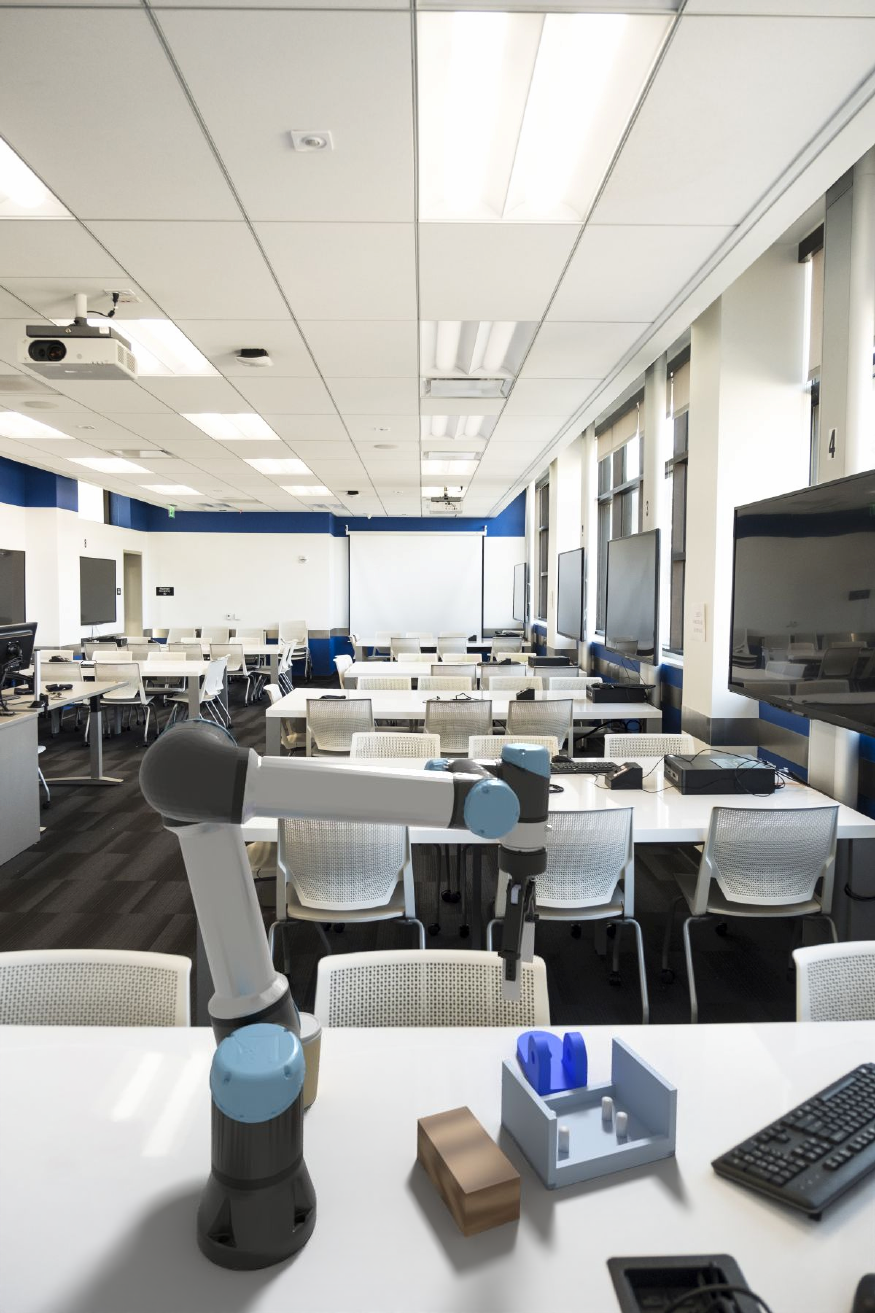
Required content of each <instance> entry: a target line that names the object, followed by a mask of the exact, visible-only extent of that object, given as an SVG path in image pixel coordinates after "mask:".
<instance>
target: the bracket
mask: <svg viewBox="0 0 875 1313" xmlns="http://www.w3.org/2000/svg"><path fill="white" fill-rule="evenodd" d="M516 1053H518V1054H517V1056H518V1058H520V1059H519V1061H520V1060H521V1061H520V1064H521V1066H522V1065H523V1066H522V1068H523V1067H524V1068H523V1071H524V1072H526V1073H525V1075H526V1077H527V1079H529V1080H528V1083H529V1084H530V1085H531V1087H532V1088H533V1089H534V1090H535V1092H536V1093H537V1094H538V1095H539V1096H540V1097H541V1096H545V1095H550V1094H554V1093H559V1092H563V1091H567V1090H572V1089H576V1088H580V1087H585V1086H588V1073H589V1072H588V1067H589V1066H588V1062H589V1061H588V1052H587V1047H586V1043H585V1040H584V1037H583V1035H582V1034H581V1032H580V1031H573V1032H572V1031H571V1032H565V1033H564V1035H563V1039H562V1038H560V1037H559V1036H558V1035H556V1034H554V1033H552V1032H549V1031H545V1030H544V1031H543V1030H529V1031H526V1032H523V1033H521V1034H520V1035H519V1036H518V1037H517V1040H516Z"/></svg>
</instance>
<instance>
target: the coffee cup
mask: <svg viewBox="0 0 875 1313" xmlns="http://www.w3.org/2000/svg"><path fill="white" fill-rule="evenodd" d="M298 1012H299V1016H300V1022H301V1030H300V1039H301V1046H302V1049H303V1056H304V1059H305V1078H304V1109H306V1108H308V1107H309V1106H311V1105H312V1104H314V1102H315V1101H316V1099H317V1095H318V1087H319V1072H320V1063H321V1061H320V1060H321V1049H322V1048H321V1047H322V1034H323V1025H322V1022H321V1021H320V1019H319V1018H318V1017H317V1016H316V1015H314V1014H312V1013H308V1012H304V1011H298Z"/></svg>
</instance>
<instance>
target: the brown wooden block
mask: <svg viewBox="0 0 875 1313" xmlns="http://www.w3.org/2000/svg"><path fill="white" fill-rule="evenodd" d="M416 1126H417V1130H416V1131H417V1132H416V1133H417V1134H416V1135H417V1136H416V1142H417V1143H416V1157H417V1160H418V1161H419V1163H420V1165H421V1166H422V1168H423V1170H424V1172H425V1173H426V1175H427V1176H428V1178H429V1180H430V1182H431V1183H432V1185H433V1186H434V1188H435V1190H436V1191H437V1193H438V1194H439V1196H440V1198H441V1200H442V1201H443V1204H444V1205H445V1206H446V1208H447V1210H448V1211H449V1213H450V1214H451V1217H452V1218H453V1220H454V1221H455V1223H456V1225H457V1226H458V1228H459V1230H460V1231H461V1233H462V1234H463V1236H464V1238H467V1237H470V1236H473V1235H476V1234H478V1233H481V1232H485V1231H488V1230H490V1229H494V1228H496V1227H499V1226H502V1225H505V1224H508V1223H510V1222H513V1221H517V1220H519V1219H521V1213H520V1212H521V1182H522V1181H521V1179H522V1178H521V1175H520V1174H519V1172H518V1171H517V1169H516V1168H515V1167H514V1166H513V1164H512V1163H511V1162H510V1160H509V1159H508V1157H507V1156H506V1155H505V1154H504V1153H503V1151H502V1150H501V1149H500V1147H499V1146H498V1145H497V1143H496V1142H495V1140H493V1138H492V1137H491V1135H490V1134H489V1133H488V1132H487V1131H486V1129H485V1128H484V1126H483V1125H482V1123H480V1121H479V1120H478V1118H477V1117H476V1116H475V1114H474V1113H473V1111H471V1109H470V1108H469V1107H468V1106H467V1105H464V1106H461V1107H457V1108H453V1109H450V1110H446V1111H442V1112H439V1113H435V1114H431V1115H427V1116H424V1117H419V1118H417V1125H416Z"/></svg>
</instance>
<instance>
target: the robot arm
mask: <svg viewBox="0 0 875 1313" xmlns="http://www.w3.org/2000/svg"><path fill="white" fill-rule="evenodd" d="M550 754H551V753H550V751H549V750H548V748H546V747H545V746H543V745H539V744H536V743H535V744H534V743H528V742H527V743H525V742H524V743H523V742H521V743H520V742H516V743H507V744H505V745H504V746H503V747H502V748H501V753H500V754H499V755H500V757H495V758H493V757H492V758H453V757H452V758H451V757H445V758H434V759H429V760H428V761H427V762H425V766H424V768H423V769H414V768H402V767H391V766H378V765H367V764H365V765H364V764H354V763H340V762H328V761H315V760H305V759H303V760H302V759H291V758H290V759H289V758H277V757H266V756H260V755H259V754H258V753H257V752H256V750H255V749H254V748H253V747H243V746H238V744H237V742H236V740H235V739H234V737H233V735H232V734H231V733H230V732H229V731H228V730H227V729H226V728H225V727H223V726H222V725H221V724H219V723H218V722H215V721H213V720H210V719H204V718H191V719H185V720H181V721H179V722H177V723H173V724H172V725H170V726H168V727H167V728H166V729H165V730H164V731H163V732H161V734H160V735H159V736H158V737H157V739H156V741H154V742H153V743H152V744H151V746H150V747H149V748H148V749H147V750H146V752H145V753H144V756H143V758H142V759H141V760H142V761H141V763H140V767H139V770H138V771H139V772H138V777H139V786H140V790H141V792H142V794H143V797H144V798H145V800H146V802H147V803H148V804H149V806H151V808H153V809H154V810H155V811H156V812H158V813H159V814H160V816H161V820H162V825H163V828H165V829H166V830H168V831H170V832H172V833H174V834H175V835H176V836H177V837H178V841H179V846H180V850H181V853H182V858H183V863H184V866H185V871H186V873H187V879H188V882H189V886H190V887H189V888H190V892H191V895H192V900H193V904H194V908H195V912H196V916H197V919H198V920H197V921H198V924H199V929H200V932H201V936H202V940H203V945H204V950H205V953H206V954H205V955H206V957H207V961H208V962H207V963H208V964H209V965H208V966H209V971H210V974H211V979H212V981H213V982H212V983H213V987H214V991H215V992H214V993H213V995H212V996H211V998H210V1000H209V1001H208V1003H207V1011H208V1014H209V1018H210V1022H211V1023H210V1024H211V1026H212V1027H211V1028H212V1031H213V1035H214V1040H215V1044H216V1049H215V1050H214V1054H213V1056H212V1061H211V1066H210V1070H209V1079H208V1080H209V1081H208V1082H209V1083H208V1084H209V1089H210V1096H211V1097H210V1098H211V1099H210V1100H211V1101H210V1102H211V1104H210V1105H211V1106H210V1112H211V1113H210V1116H211V1118H210V1123H211V1124H210V1126H211V1127H210V1132H211V1133H210V1138H211V1139H210V1140H211V1141H210V1147H211V1148H210V1159H211V1161H210V1172H209V1175H208V1178H207V1181H206V1184H205V1187H204V1190H203V1193H202V1196H201V1200H200V1203H199V1205H198V1208H197V1209H198V1210H197V1214H196V1240H197V1244H198V1247H199V1248H200V1251H201V1252H202V1253H203V1255H205V1257H206V1258H208V1259H209V1260H210V1261H211V1262H212V1263H215V1264H216V1265H218V1266H221V1267H223V1268H226V1269H232V1270H240V1271H245V1270H246V1271H249V1270H257V1269H263V1268H267V1267H270V1266H273V1265H276V1264H278V1263H280V1262H282V1261H284V1260H286V1259H287V1258H289V1257H290V1256H292V1255H293V1254H294V1253H296V1252H298V1251H299V1250H300V1249H301V1248H302V1247H303V1246H304V1245H305V1244H306V1242H307V1241H308V1240H309V1238H310V1237H311V1235H312V1233H313V1231H314V1229H315V1226H316V1223H317V1222H316V1221H317V1215H318V1214H317V1209H318V1208H317V1206H318V1203H317V1194H316V1189H315V1186H314V1185H313V1181H312V1178H311V1175H310V1173H309V1170H308V1166H307V1163H306V1161H305V1158H304V1112H305V1111H304V1109H305V1108H304V1078H305V1059H304V1056H303V1049H302V1046H301V1039H300V1030H301V1022H300V1016H299V1012H300V1011H299V1009H298V1007H297V1006H296V1004H295V1001H294V999H293V997H292V993H291V989H290V984H289V981H288V978H287V976H286V975H284V974H282V973H280V972H279V971H276V970H275V966H274V963H273V958H272V955H271V953H272V952H271V949H270V945H269V941H268V938H267V933H266V928H265V924H264V920H263V915H262V910H261V907H260V903H259V898H258V894H257V889H256V886H255V882H254V880H255V879H254V877H253V872H252V869H251V868H252V867H251V865H250V864H251V862H250V860H249V855H248V850H247V846H246V843H245V838H244V833H243V830H242V825H245V824H246V823H247V822H249V821H250V820H251V819H253V818H267V819H283V820H285V819H286V820H298V821H301V820H303V821H314V822H315V821H317V822H330V823H331V822H335V823H348V824H349V823H351V824H363V825H364V824H366V825H381V826H382V825H384V826H399V827H413V828H416V827H417V828H431V829H432V828H433V829H448V830H457V831H470V832H471V833H472V834H474V835H476V836H477V837H481V838H482V839H486V840H498V841H499V842H500V844H499V845H498V847H497V849H498V852H497V867H498V869H499V870H500V871H501V872H503V873H505V874H509V875H510V876H511V877H510V878H509V882H507V885H506V890H505V893H506V897H505V907H504V909H505V910H504V920H503V927H502V928H503V929H502V939H501V947H500V948H501V949H500V951H499V950H497V953H496V954H497V957H498V958H500V959H502V964H501V965H502V968H501V970H502V972H501V973H502V974H501V995H500V996H501V1000H505V1001H510V1002H516V1003H517V1002H518V1003H520V1001H521V992H522V991H521V987H522V986H521V985H522V965H523V964H522V963H528V964H533V963H534V953H535V952H534V949H535V948H534V947H535V928H536V926H535V924H536V923H535V922H539V921H540V914H539V913H537V911H538V908H537V891H536V886H537V882H536V876H541V875H542V874H544V873H546V870H547V868H548V848H547V847H546V845H547V843H548V833H551V832H552V831H553V827H552V826H551V825H547V824H548V823H549V808H550V806H549V804H550V789H551V788H550V787H551V778H552V776H551V755H550Z"/></svg>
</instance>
